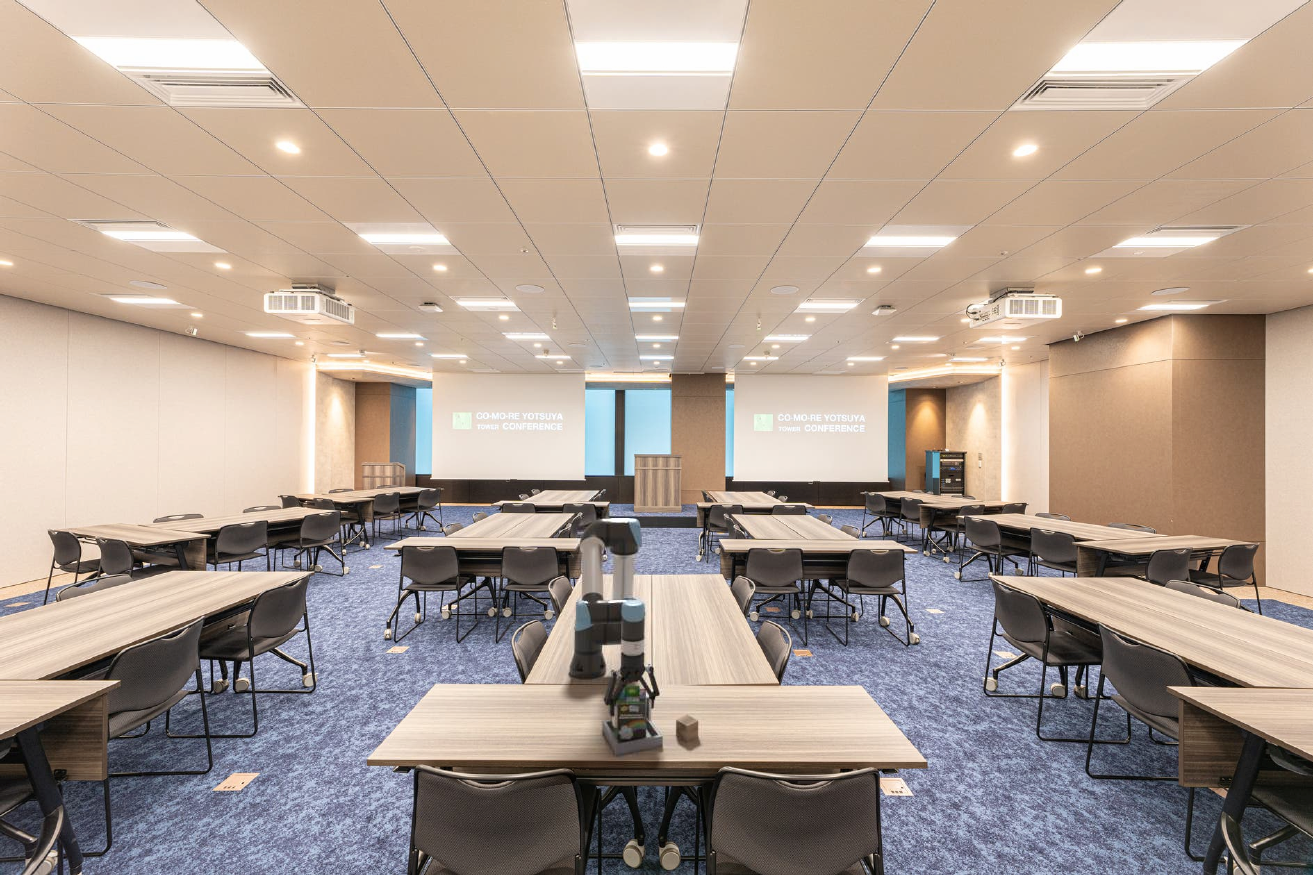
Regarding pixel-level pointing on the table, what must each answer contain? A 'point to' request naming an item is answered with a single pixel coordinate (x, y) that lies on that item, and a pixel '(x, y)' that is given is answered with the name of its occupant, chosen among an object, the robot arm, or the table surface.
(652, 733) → the tray
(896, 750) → the table surface
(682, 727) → the walnut block
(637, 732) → the chalk box
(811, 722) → the table surface
